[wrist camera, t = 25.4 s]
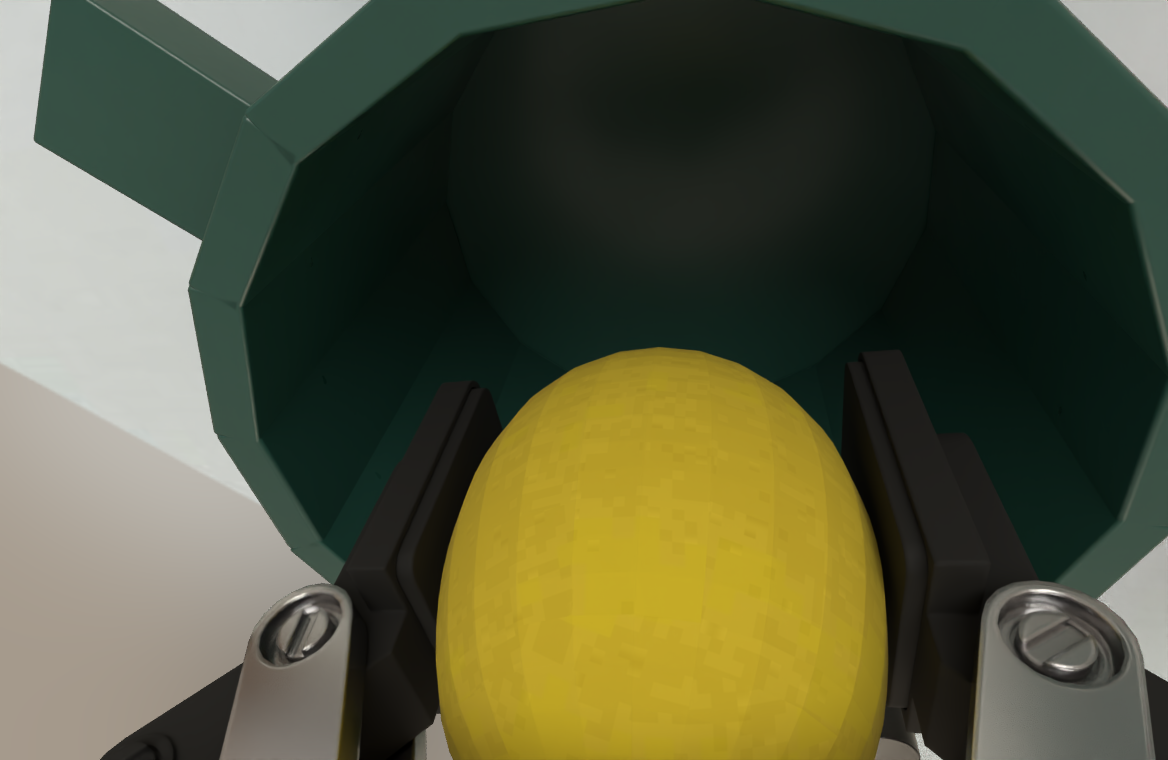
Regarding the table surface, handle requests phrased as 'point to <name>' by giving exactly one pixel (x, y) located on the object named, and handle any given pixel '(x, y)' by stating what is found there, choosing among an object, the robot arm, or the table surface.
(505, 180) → the pot
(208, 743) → the robot arm
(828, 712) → the lemon
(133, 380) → the table surface
